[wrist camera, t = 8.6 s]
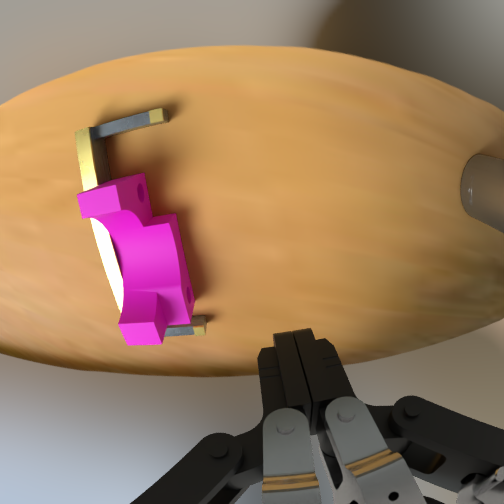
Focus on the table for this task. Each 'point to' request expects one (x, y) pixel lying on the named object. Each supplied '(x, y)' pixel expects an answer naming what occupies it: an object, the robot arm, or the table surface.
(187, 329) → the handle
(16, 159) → the table surface
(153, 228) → the toy block
